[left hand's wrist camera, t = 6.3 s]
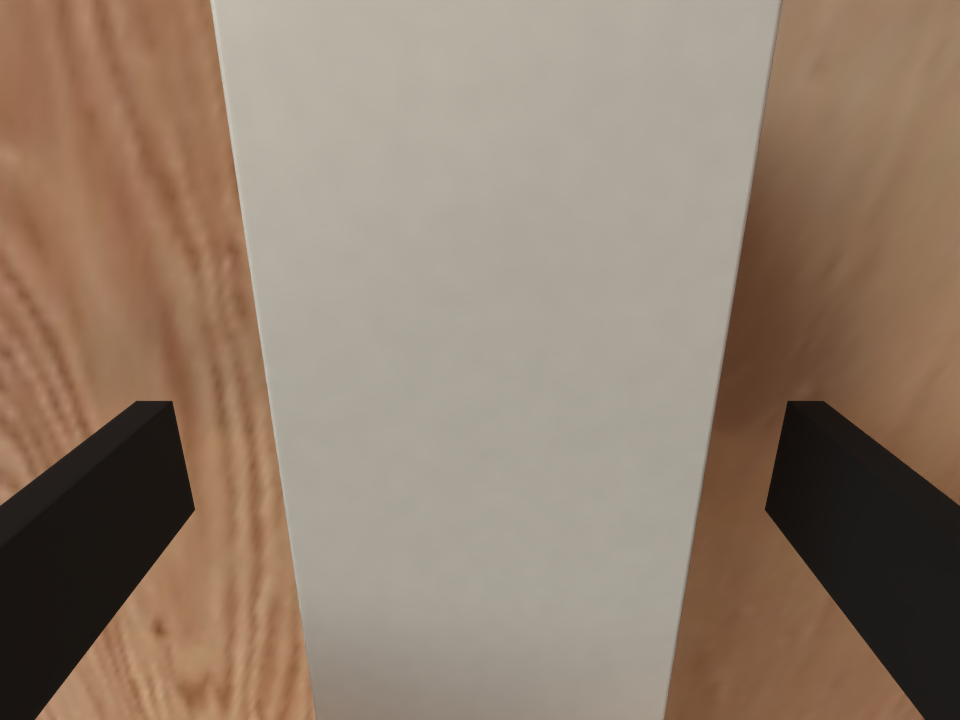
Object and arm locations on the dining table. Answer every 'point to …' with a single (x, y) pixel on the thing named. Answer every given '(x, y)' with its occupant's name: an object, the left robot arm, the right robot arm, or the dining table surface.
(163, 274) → the dining table surface
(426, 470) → the beam
